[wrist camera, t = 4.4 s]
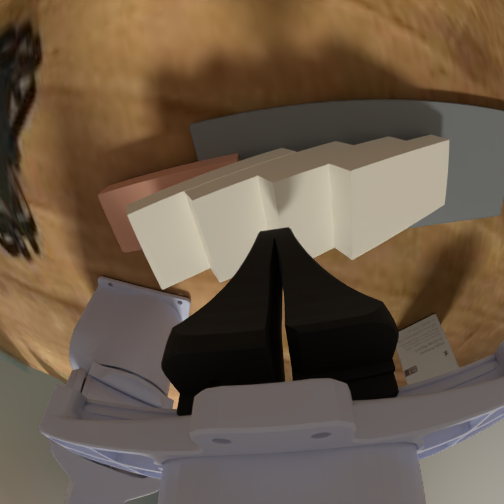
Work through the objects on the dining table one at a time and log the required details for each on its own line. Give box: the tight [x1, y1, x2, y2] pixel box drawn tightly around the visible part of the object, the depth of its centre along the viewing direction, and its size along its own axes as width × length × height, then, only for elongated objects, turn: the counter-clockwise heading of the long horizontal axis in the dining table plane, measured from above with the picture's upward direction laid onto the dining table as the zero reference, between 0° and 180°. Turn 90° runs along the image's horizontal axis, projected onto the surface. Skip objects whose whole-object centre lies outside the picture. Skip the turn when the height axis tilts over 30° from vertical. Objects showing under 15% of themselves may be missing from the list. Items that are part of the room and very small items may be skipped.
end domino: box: [97, 153, 240, 253], centre depth 19 cm, size 2×5×10 cm
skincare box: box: [396, 314, 459, 385], centre depth 24 cm, size 6×4×12 cm
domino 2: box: [184, 141, 353, 283], centre depth 16 cm, size 2×5×10 cm
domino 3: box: [257, 136, 405, 258], centre depth 16 cm, size 2×5×10 cm
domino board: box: [189, 99, 504, 228], centre depth 18 cm, size 26×10×1 cm, turn 101°
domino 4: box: [328, 135, 449, 260], centre depth 15 cm, size 2×5×10 cm
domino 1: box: [126, 148, 296, 290], centre depth 16 cm, size 2×5×10 cm
